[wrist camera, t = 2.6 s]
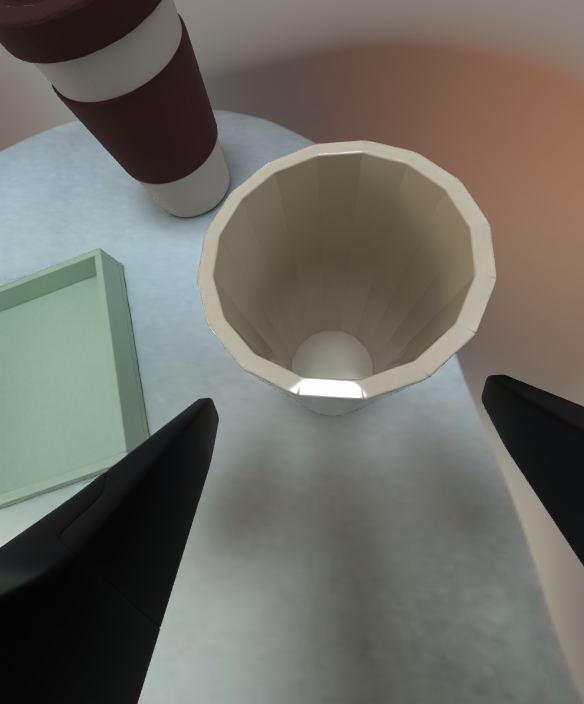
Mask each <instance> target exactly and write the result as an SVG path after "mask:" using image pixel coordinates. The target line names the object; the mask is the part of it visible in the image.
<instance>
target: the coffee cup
mask: <svg viewBox="0 0 584 704" xmlns="http://www.w3.org/2000/svg"><path fill="white" fill-rule="evenodd" d="M0 43H1V44H2V45H3V46H4V47H5V49H6V50H7V51H9V52H10V53H11V54H12V55H13V56H15V57H16V58H19V59H21V60H23V61H27V62H30V63H34V64H35V65H36V67H37V68H38V69H39V70H40V71H41V72H42V73H43V74H44V75H45V77H46V78H47V79H48V80H49V81H50V82H51V84H52V87H53V89H54V91H55V92H56V94H57V95H58V96H59V98H60V99H61V100H62V101H63V102H64V104H65V105H66V106H67V107H68V108H69V109H70V110H71V111H72V112H73V113H74V114H75V116H76V117H77V118H78V119H79V120H80V121H81V122H82V123H83V124H84V125H85V127H86V128H87V129H88V130H89V131H90V132H91V133H92V134H93V135H94V136H95V138H96V139H97V140H98V141H99V142H100V143H101V144H102V145H103V146H104V147H105V149H106V150H107V151H108V152H109V153H110V154H111V155H112V156H113V157H114V158H115V159H116V161H117V162H118V163H119V164H120V165H121V166H122V167H123V168H124V169H125V170H126V172H127V173H128V174H130V175H131V176H132V177H133V178H135V179H136V180H138V181H139V182H140V183H141V184H142V185H143V186H144V188H145V189H146V190H147V191H148V192H149V193H150V194H151V195H152V197H153V198H154V199H155V200H156V201H157V202H158V203H159V204H160V205H161V207H162V208H163V209H165V210H166V211H167V212H169V213H171V214H173V215H176V216H179V217H193V216H198V215H201V214H203V213H205V212H207V211H209V210H211V209H212V208H214V207H215V206H216V205H217V204H218V203H219V202H220V201H221V200H222V199H223V197H224V196H225V194H226V192H227V189H228V186H229V180H230V177H229V170H228V167H227V164H226V161H225V157H224V154H223V151H222V148H221V145H220V142H219V139H218V136H217V135H218V132H217V124H216V121H215V118H214V115H213V111H212V108H211V105H210V102H209V99H208V96H207V92H206V89H205V86H204V83H203V80H202V76H201V74H200V71H199V67H198V64H197V60H196V57H195V54H194V51H193V48H192V44H191V41H190V38H189V35H188V32H187V29H186V26H185V24H184V22H183V20H182V18H181V16H180V15H179V14H178V13H177V10H176V7H175V4H174V1H173V0H0Z"/></svg>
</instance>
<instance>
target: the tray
mask: <svg viewBox="0 0 584 704" xmlns="http://www.w3.org/2000/svg"><path fill="white" fill-rule="evenodd" d="M148 438H149V433H148V427H147V421H146V414H145V408H144V402H143V395H142V389H141V383H140V376H139V370H138V363H137V357H136V351H135V344H134V338H133V332H132V325H131V319H130V313H129V306H128V300H127V293H126V287H125V281H124V274H123V268H122V264H120V263H119V262H118V261H116V260H115V259H114V258H112V257H111V256H110V255H109V254H107V253H106V252H105V251H103V250H102V249H101V248H98V249H95V250H93V251H90V252H88V253H85V254H82V255H80V256H77V257H75V258H72V259H69V260H67V261H64V262H62V263H59V264H56V265H54V266H51V267H49V268H46V269H44V270H41V271H38V272H36V273H33V274H31V275H28V276H25V277H23V278H20V279H18V280H15V281H13V282H10V283H7V284H5V285H2V286H0V508H3V507H6V506H9V505H12V504H15V503H18V502H21V501H23V500H26V499H29V498H32V497H35V496H38V495H41V494H44V493H47V492H50V491H52V490H55V489H58V488H61V487H64V486H67V485H70V484H73V483H76V482H78V481H81V480H84V479H87V478H90V477H93V476H96V475H99V474H102V473H104V472H107V471H108V469H110V468H111V467H112V466H113V465H115V464H116V463H117V462H119V461H120V460H121V459H122V458H124V457H125V456H126V455H128V454H129V453H130V452H131V451H133V450H134V449H135V448H137V447H138V446H139V445H140V444H142V443H143V442H144V441H146V440H147V439H148Z"/></svg>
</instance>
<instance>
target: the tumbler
mask: <svg viewBox="0 0 584 704" xmlns="http://www.w3.org/2000/svg"><path fill="white" fill-rule="evenodd" d="M197 279H198V280H197V282H198V286H199V290H200V294H201V298H202V302H203V306H204V310H205V314H206V318H207V322H208V326H209V327H210V330H211V331H212V332H213V333H214V335H215V336H216V337H217V338H218V340H219V341H220V342H221V343H222V344H223V346H224V347H225V348H226V349H227V351H228V352H229V353H230V354H231V355H232V357H233V358H234V359H235V360H236V362H237V363H238V364H239V365H240V367H241V368H243V369H244V370H245V371H247V372H248V373H250V374H252V375H253V376H255V377H256V378H258V379H260V380H261V381H263V382H265V383H266V384H268V385H269V386H271V387H273V388H274V389H276V390H278V391H279V392H281V393H282V394H284V395H286V396H287V397H289V398H291V399H292V400H294V401H295V402H297V403H299V404H300V405H302V406H304V407H305V408H307V409H309V410H311V411H313V412H315V413H317V414H319V415H327V416H342V415H345V414H348V413H350V412H353V411H356V410H359V409H361V408H363V407H365V406H368V405H370V404H372V403H374V402H376V401H379V400H381V399H383V398H385V397H388V396H390V395H392V394H394V393H397V392H399V391H401V390H403V389H405V388H408V387H410V386H412V385H414V384H417V383H419V382H421V381H423V380H425V379H427V378H429V377H430V376H431V375H432V374H434V373H435V372H436V371H437V370H438V369H439V368H440V367H441V366H442V365H443V364H444V363H445V362H447V361H448V360H449V359H450V358H451V357H452V356H453V355H454V354H455V353H456V352H457V351H458V350H459V349H460V348H462V346H464V345H465V344H466V343H467V342H468V341H469V340H470V339H471V338H472V337H474V334H475V333H476V332H477V329H478V327H479V324H480V321H481V319H482V316H483V314H484V311H485V308H486V305H487V303H488V300H489V298H490V295H491V293H492V290H493V287H494V285H495V282H496V268H495V261H494V252H493V245H492V237H491V229H490V225H489V222H488V221H487V219H486V218H485V216H484V215H483V213H482V212H481V210H480V209H479V207H478V206H477V204H476V203H475V201H474V200H473V198H472V197H471V195H470V194H469V192H468V191H467V189H466V188H465V186H464V185H463V184H462V182H461V181H459V179H457V178H456V177H454V176H453V175H451V174H450V173H448V172H446V171H445V170H443V169H442V168H440V167H439V166H437V165H436V164H434V163H433V162H431V161H430V160H428V159H426V158H425V157H423V156H422V155H420V154H419V153H415V152H414V151H410V150H405V149H401V148H397V147H392V146H388V145H384V144H380V143H375V142H371V141H366V142H365V141H364V140H362V141H350V142H337V143H324V144H316V145H311V146H309V147H306V148H304V149H301V150H299V151H296V152H293V153H291V154H288V155H286V156H283V157H281V158H278V159H275V160H273V161H270V162H269V163H267V164H265V165H264V166H263V167H262V168H260V169H259V170H258V171H257V172H255V173H254V174H253V175H252V176H250V177H249V178H248V179H247V180H245V181H244V182H243V183H242V184H240V185H239V186H238V187H237V188H235V189H234V190H233V191H232V192H231V194H229V196H228V197H227V199H226V200H225V202H224V204H223V205H222V207H221V208H220V210H219V212H218V213H217V215H216V216H215V218H214V220H213V221H212V223H211V224H210V226H209V227H208V229H207V231H206V234H205V236H204V242H203V248H202V253H201V259H200V264H199V270H198V275H197Z"/></svg>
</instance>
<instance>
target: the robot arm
mask: <svg viewBox="0 0 584 704" xmlns="http://www.w3.org/2000/svg"><path fill="white" fill-rule="evenodd" d="M482 403H483V405H484V407H485V409H486V410H487V413H488V415H489V417H490V419H491V421H492V423H493V424H494V426H495V428H496V430H497V432H498V434H499V436H500V438H501V440H502V442H503V444H504V445H505V447H506V449H507V450H508V452H509V454H510V455H511V457H512V458H513V460H514V461H515V463H516V464H517V466H518V467H519V469H520V470H521V472H522V473H523V475H524V476H525V478H526V479H527V481H528V482H529V484H530V485H531V487H532V489H533V490H534V492H535V493H536V495H537V496H538V498H539V499H540V501H541V502H542V504H543V505H544V507H545V508H546V510H547V511H548V513H549V514H550V516H551V517H552V519H553V520H554V522H555V524H556V525H557V526H558V528H559V530H560V531H561V532H562V534H563V536H564V537H565V539H566V540H567V542H568V543H569V545H570V546H571V548H572V549H573V551H574V552H575V554H576V555H577V557H578V558H579V560H580V562H581V563H582V564H583V566H584V407H583V406H581V405H579V404H576V403H573V402H571V401H569V400H566V399H564V398H561V397H559V396H556V395H554V394H551V393H549V392H546V391H544V390H541V389H539V388H536V387H534V386H531V385H529V384H526V383H524V382H521V381H519V380H516V379H514V378H511V377H509V376H506V375H491V376H488V377H487V379H486V382H485V386H484V390H483V393H482ZM218 422H219V417H218V413H217V410H216V408H215V405H214V402H213V400H212V399H211V398H201V399H198V400H197V401H196V402H194V403H193V404H192V405H190V406H189V407H188V408H187V409H185V410H184V411H183V412H181V413H180V414H179V415H178V416H176V417H175V418H174V419H173V420H171V421H170V422H169V423H167V424H166V425H165V426H164V427H162V428H161V429H160V430H158V431H157V432H156V433H155V434H153V435H152V436H151V437H149V438H148V439H147V440H146V441H144V442H143V443H142V444H140V445H139V446H138V447H137V448H135V449H134V450H133V451H131V452H130V453H129V454H128V455H126V456H125V457H124V458H122V459H121V460H120V461H119V462H117V463H116V464H115V465H113V466H112V467H111V468H110V469H108V471H107V472H104V473H103V474H102V475H100V476H99V477H98V478H97V479H95V480H94V481H93V482H91V483H90V484H89V485H87V486H86V487H85V488H84V489H82V490H81V491H80V492H78V493H77V494H76V495H74V496H73V497H71V498H70V499H69V500H67V501H66V502H64V503H63V504H62V505H60V506H59V507H57V508H56V509H55V510H53V511H52V512H50V513H49V514H48V515H46V516H45V517H43V518H42V519H40V520H39V521H38V522H36V523H35V524H33V525H32V526H30V527H29V528H28V529H26V530H25V531H23V532H22V533H20V534H19V535H18V536H16V537H15V538H13V539H12V540H10V541H9V542H8V543H6V544H5V545H3V546H2V547H0V704H137V703H138V700H139V697H140V694H141V690H142V687H143V684H144V680H145V677H146V674H147V671H148V667H149V664H150V661H151V658H152V654H153V651H154V648H155V644H156V641H157V638H158V635H159V631H160V627H161V624H162V621H163V618H164V614H165V611H166V608H167V604H168V601H169V598H170V595H171V591H172V588H173V585H174V581H175V578H176V575H177V572H178V568H179V565H180V562H181V559H182V555H183V552H184V549H185V545H186V542H187V539H188V536H189V532H190V529H191V526H192V523H193V519H194V516H195V513H196V509H197V506H198V503H199V500H200V496H201V493H202V490H203V486H204V483H205V480H206V477H207V473H208V470H209V467H210V463H211V459H212V454H213V449H214V443H215V438H216V433H217V428H218Z"/></svg>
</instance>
